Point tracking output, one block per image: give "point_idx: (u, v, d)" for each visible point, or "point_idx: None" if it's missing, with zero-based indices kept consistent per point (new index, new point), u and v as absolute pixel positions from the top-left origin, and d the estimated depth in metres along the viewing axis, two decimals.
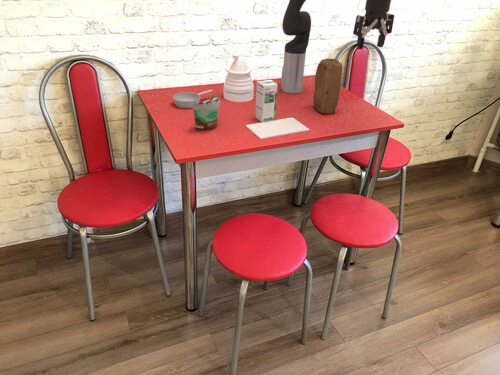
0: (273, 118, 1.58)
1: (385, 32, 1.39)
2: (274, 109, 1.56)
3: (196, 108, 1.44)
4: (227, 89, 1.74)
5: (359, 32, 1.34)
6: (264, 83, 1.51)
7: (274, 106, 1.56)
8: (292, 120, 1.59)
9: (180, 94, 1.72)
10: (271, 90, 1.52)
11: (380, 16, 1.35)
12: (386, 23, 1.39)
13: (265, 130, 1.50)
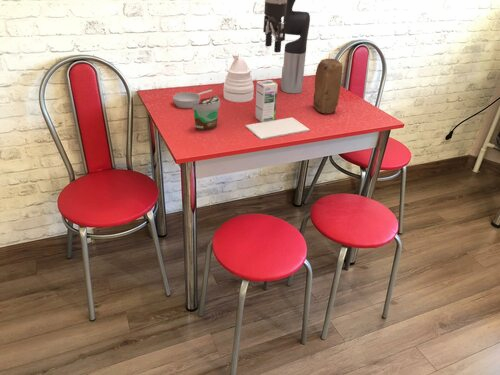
0: (273, 118, 1.58)
1: None
2: (274, 109, 1.56)
3: (196, 108, 1.44)
4: (227, 89, 1.74)
5: None
6: (264, 83, 1.51)
7: (274, 106, 1.56)
8: (292, 120, 1.59)
9: (180, 94, 1.72)
10: (271, 90, 1.52)
11: None
12: (266, 24, 1.53)
13: (265, 130, 1.50)
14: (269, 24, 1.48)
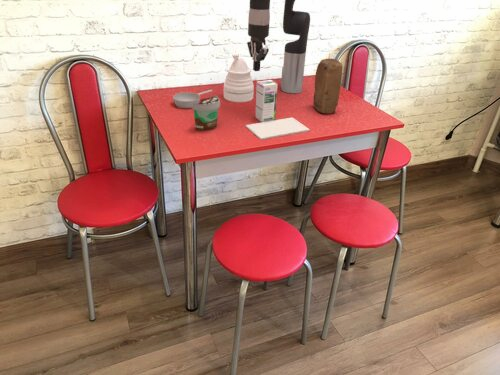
0: (273, 118, 1.58)
1: None
2: (274, 109, 1.56)
3: (196, 108, 1.44)
4: (227, 89, 1.74)
5: None
6: (264, 83, 1.51)
7: (274, 106, 1.56)
8: (292, 120, 1.59)
9: (180, 94, 1.72)
10: (271, 90, 1.52)
11: None
12: None
13: (265, 130, 1.50)
14: (253, 43, 1.53)
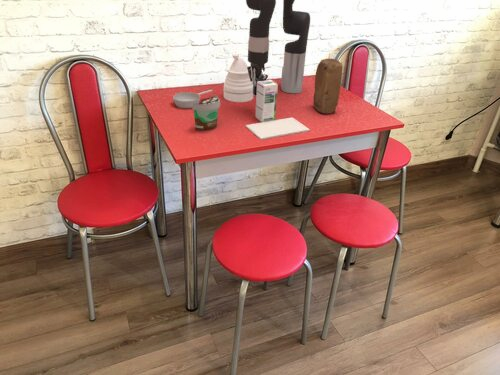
0: (273, 118, 1.58)
1: None
2: (274, 109, 1.56)
3: (196, 108, 1.44)
4: (227, 89, 1.74)
5: None
6: (264, 83, 1.51)
7: (274, 106, 1.56)
8: (292, 120, 1.59)
9: (180, 94, 1.72)
10: (271, 90, 1.52)
11: None
12: (251, 73, 1.61)
13: (265, 130, 1.50)
14: (253, 69, 1.57)
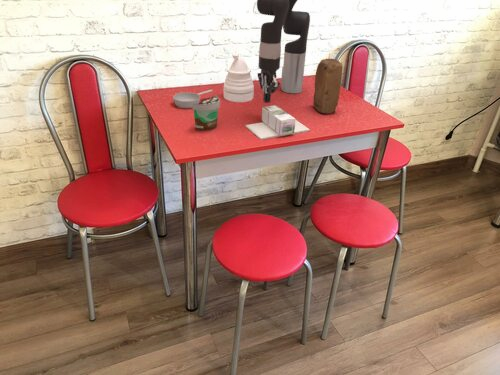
0: None
1: None
2: None
3: (196, 108, 1.44)
4: (227, 89, 1.74)
5: None
6: (283, 130, 1.46)
7: None
8: None
9: (180, 94, 1.72)
10: None
11: None
12: (261, 80, 1.54)
13: (265, 130, 1.50)
14: (264, 76, 1.51)
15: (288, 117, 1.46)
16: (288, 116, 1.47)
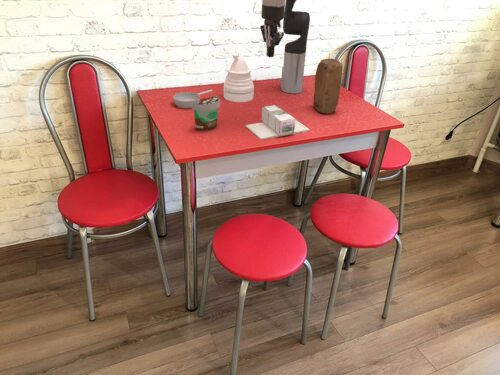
0: None
1: None
2: None
3: (196, 108, 1.44)
4: (227, 89, 1.74)
5: None
6: (283, 130, 1.46)
7: None
8: None
9: (180, 94, 1.72)
10: None
11: None
12: (265, 33, 1.45)
13: (265, 130, 1.50)
14: (267, 27, 1.41)
15: (288, 117, 1.46)
16: (288, 116, 1.47)
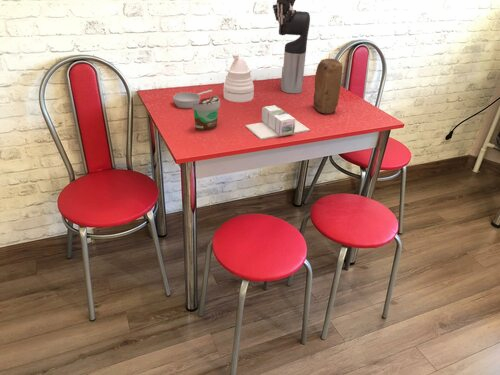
0: None
1: None
2: None
3: (196, 108, 1.44)
4: (227, 89, 1.74)
5: None
6: (283, 130, 1.46)
7: None
8: None
9: (180, 94, 1.72)
10: None
11: None
12: (277, 12, 1.52)
13: (265, 130, 1.50)
14: (280, 5, 1.48)
15: (288, 117, 1.46)
16: (288, 116, 1.47)
